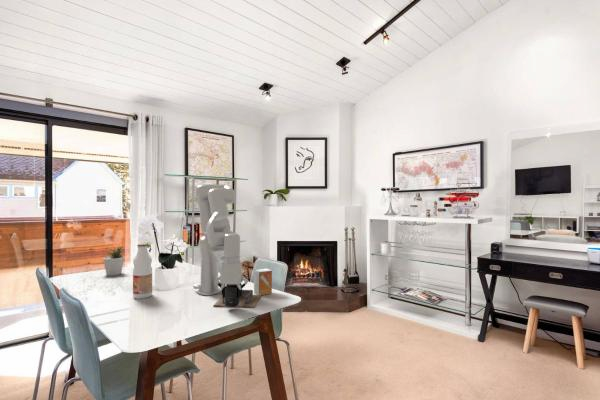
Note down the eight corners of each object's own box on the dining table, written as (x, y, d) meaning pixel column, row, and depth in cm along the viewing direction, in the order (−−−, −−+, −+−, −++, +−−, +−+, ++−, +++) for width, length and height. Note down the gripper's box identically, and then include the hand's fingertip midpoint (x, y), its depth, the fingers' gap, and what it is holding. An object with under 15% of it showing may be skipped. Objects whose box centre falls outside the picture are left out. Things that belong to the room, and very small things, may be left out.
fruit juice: (147, 299, 178) (147, 245, 178) (129, 298, 178) (129, 245, 178) (155, 293, 188) (155, 242, 187) (138, 293, 188) (138, 242, 187)
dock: (213, 306, 166) (213, 297, 166) (224, 295, 184) (224, 287, 184) (254, 307, 165) (254, 298, 165) (260, 296, 183) (260, 288, 183)
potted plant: (119, 276, 227) (119, 246, 226) (99, 276, 227) (99, 246, 227) (129, 272, 239) (129, 243, 239) (109, 272, 239) (109, 243, 239)
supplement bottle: (225, 302, 166) (225, 278, 165) (239, 302, 166) (239, 277, 166) (223, 307, 159) (223, 281, 158) (238, 307, 159) (238, 281, 159)
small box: (258, 296, 184) (258, 272, 184) (253, 293, 189) (253, 269, 189) (272, 293, 189) (272, 270, 188) (266, 291, 194) (266, 268, 194)
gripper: (211, 260, 159) (211, 299, 159) (248, 261, 158) (248, 300, 158) (216, 257, 166) (216, 294, 167) (251, 258, 165) (251, 295, 166)
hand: (231, 296), depth 162 cm, fingers closed on supplement bottle, 6 cm apart
